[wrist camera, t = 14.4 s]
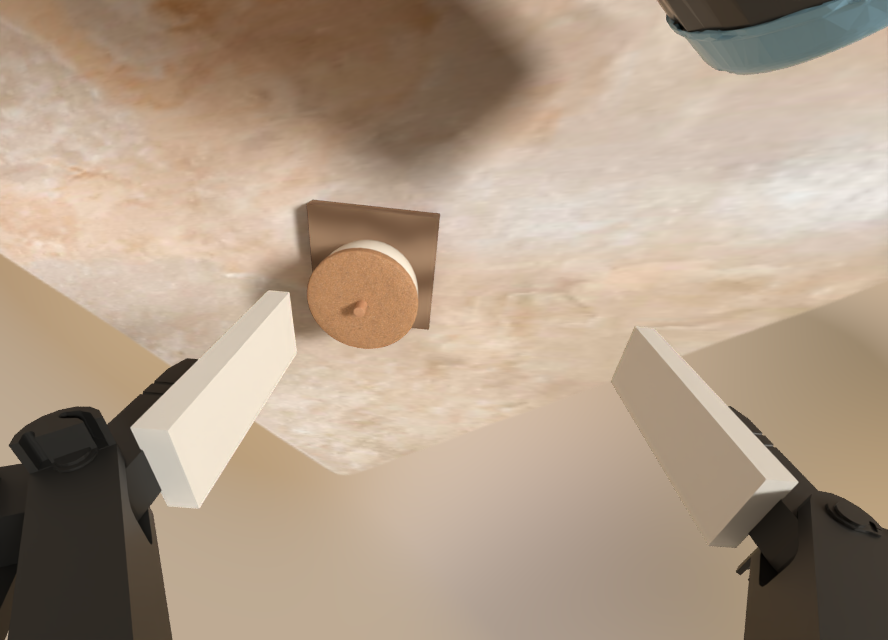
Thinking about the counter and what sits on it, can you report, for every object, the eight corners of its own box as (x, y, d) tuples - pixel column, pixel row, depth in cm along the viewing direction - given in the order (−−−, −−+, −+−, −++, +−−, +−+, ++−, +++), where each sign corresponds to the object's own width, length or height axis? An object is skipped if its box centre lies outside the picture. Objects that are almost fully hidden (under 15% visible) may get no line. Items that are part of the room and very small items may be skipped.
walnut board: (312, 199, 39) (306, 203, 38) (440, 213, 40) (439, 218, 38) (321, 311, 46) (316, 318, 45) (429, 321, 47) (428, 329, 45)
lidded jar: (321, 296, 43) (291, 339, 35) (341, 211, 38) (311, 239, 30) (406, 324, 45) (396, 371, 37) (436, 247, 40) (432, 282, 32)
